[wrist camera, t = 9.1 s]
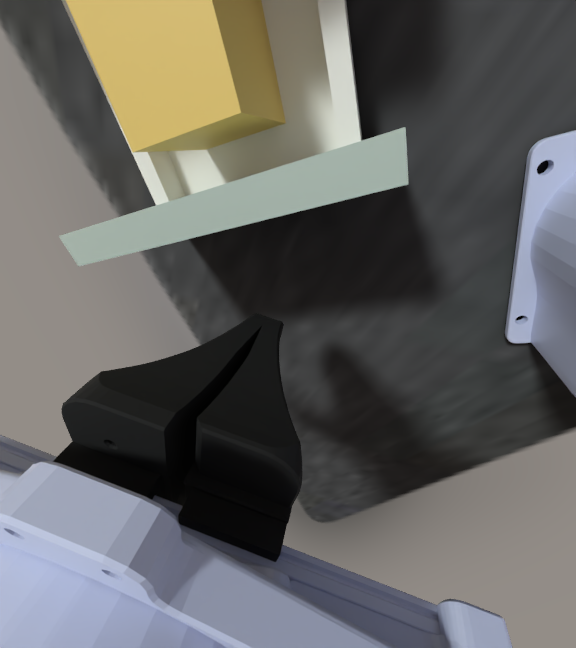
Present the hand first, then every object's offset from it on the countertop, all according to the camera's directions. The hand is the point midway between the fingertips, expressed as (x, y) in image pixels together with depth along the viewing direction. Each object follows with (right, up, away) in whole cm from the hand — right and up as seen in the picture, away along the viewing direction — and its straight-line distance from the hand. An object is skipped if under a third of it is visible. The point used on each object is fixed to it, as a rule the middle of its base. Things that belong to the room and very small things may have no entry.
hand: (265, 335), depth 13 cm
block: (-1, +11, -1) cm, 11 cm away
